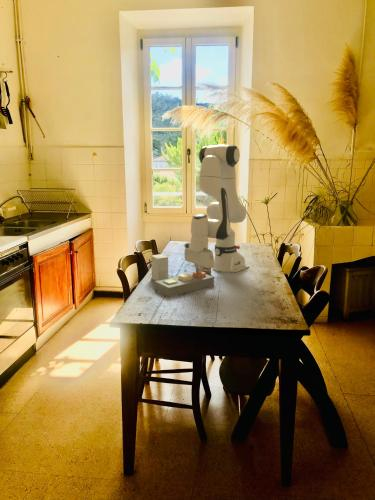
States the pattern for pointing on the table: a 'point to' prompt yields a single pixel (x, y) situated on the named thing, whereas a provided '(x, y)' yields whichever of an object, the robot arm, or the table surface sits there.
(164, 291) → the console
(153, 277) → the small box
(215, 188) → the robot arm
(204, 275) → the rust button
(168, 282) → the sage button
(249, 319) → the table surface
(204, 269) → the architectural model
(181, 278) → the cream button
